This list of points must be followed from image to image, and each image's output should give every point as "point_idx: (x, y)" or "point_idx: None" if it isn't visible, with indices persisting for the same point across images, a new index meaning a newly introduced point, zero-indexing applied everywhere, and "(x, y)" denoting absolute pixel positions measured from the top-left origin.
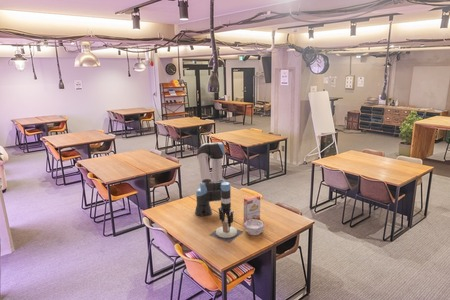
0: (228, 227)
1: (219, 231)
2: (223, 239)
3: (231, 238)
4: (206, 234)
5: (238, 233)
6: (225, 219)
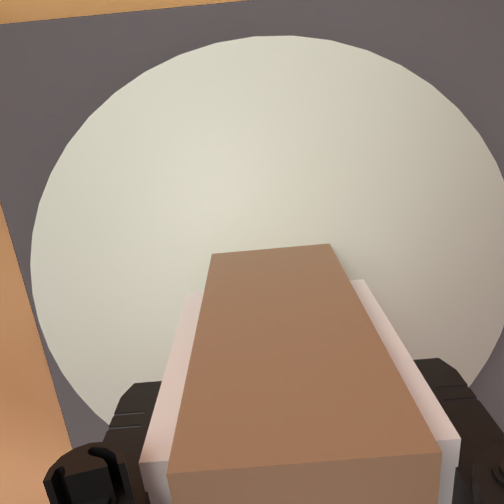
0: None
1: None
2: None
3: None
4: (33, 483)
5: (498, 136)
6: (179, 494)
